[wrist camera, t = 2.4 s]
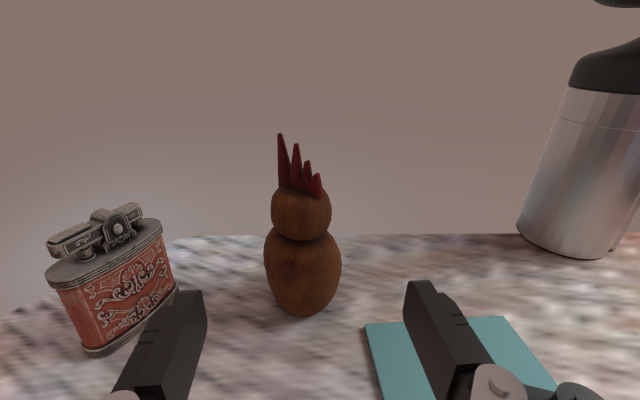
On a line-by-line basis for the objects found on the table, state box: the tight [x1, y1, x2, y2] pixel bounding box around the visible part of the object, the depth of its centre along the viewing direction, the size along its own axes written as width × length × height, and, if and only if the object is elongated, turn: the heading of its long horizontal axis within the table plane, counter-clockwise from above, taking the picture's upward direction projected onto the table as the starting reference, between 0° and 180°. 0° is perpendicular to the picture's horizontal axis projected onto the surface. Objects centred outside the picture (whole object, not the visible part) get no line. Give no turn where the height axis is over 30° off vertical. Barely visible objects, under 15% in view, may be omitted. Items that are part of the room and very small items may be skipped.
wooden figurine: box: [264, 133, 342, 316], centre depth 24 cm, size 7×6×15 cm
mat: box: [364, 316, 558, 400], centre depth 20 cm, size 12×11×1 cm
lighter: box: [45, 202, 179, 359], centre depth 23 cm, size 8×3×10 cm, turn 158°
